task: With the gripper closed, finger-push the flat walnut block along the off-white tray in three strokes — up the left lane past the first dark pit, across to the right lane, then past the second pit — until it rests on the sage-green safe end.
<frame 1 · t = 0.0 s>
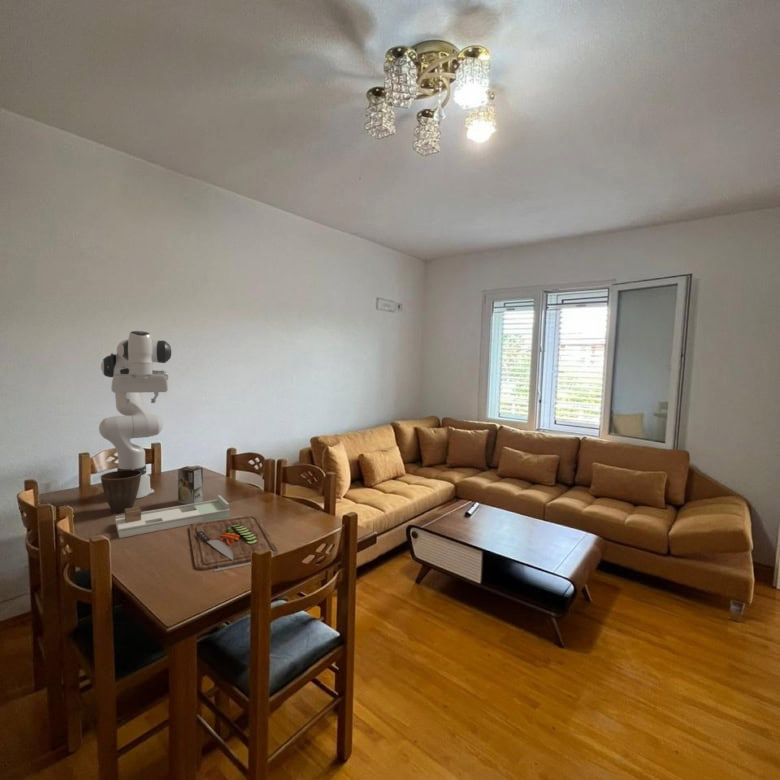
hand: (140, 403, 175), 48 cm above the table, fingers open, 8 cm apart
coffee box: (190, 502, 196), on the table
block: (133, 519, 167), point 2 cm above the table, touching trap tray
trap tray: (174, 520, 174), on the table
plant pot: (121, 510, 183), on the table
chopping board: (231, 541, 157), on the table
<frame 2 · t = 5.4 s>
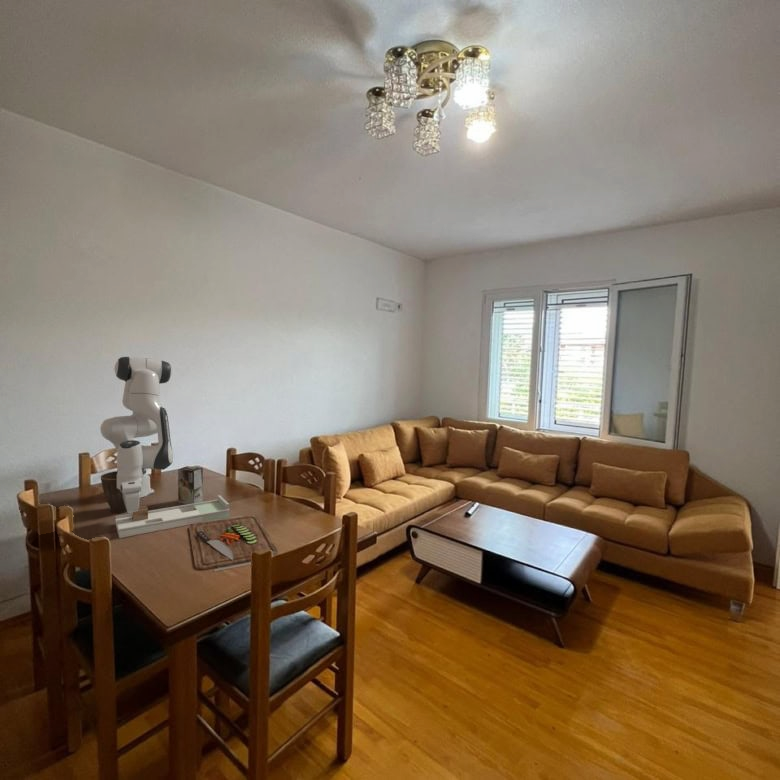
hand: (130, 516, 166), 4 cm above the table, fingers closed
block: (140, 518, 168), point 2 cm above the table
everything else where it was.
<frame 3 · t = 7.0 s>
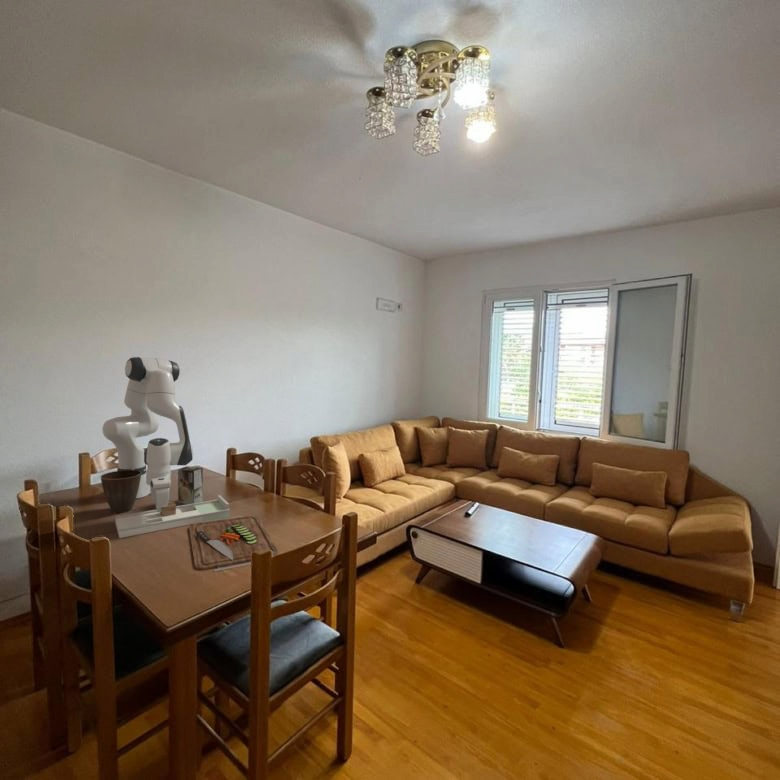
hand: (158, 511, 172), 4 cm above the table, fingers closed
block: (167, 513, 174), point 2 cm above the table, touching gripper
everything else where it was.
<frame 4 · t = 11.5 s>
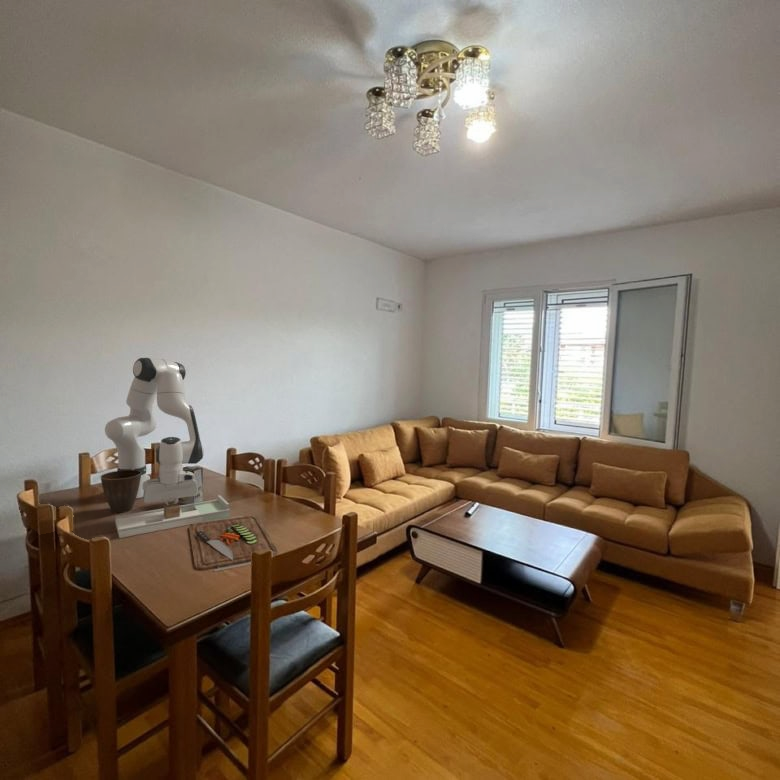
hand: (171, 509, 175), 4 cm above the table, fingers closed
block: (171, 515, 172), point 2 cm above the table, touching gripper, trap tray
everything else where it was.
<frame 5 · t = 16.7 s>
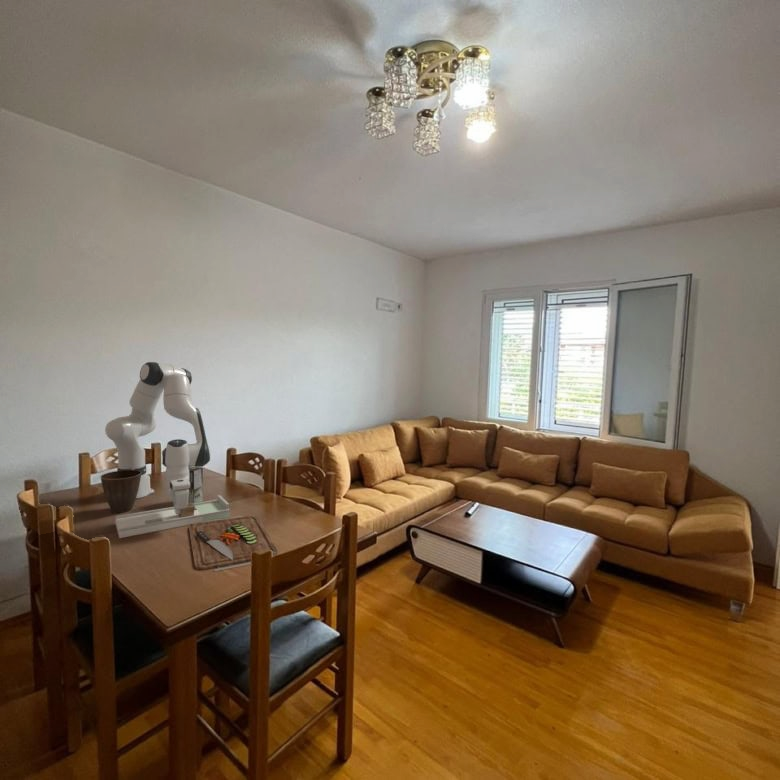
hand: (177, 513, 171), 4 cm above the table, fingers closed
block: (186, 515, 174), point 2 cm above the table, touching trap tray
everything else where it was.
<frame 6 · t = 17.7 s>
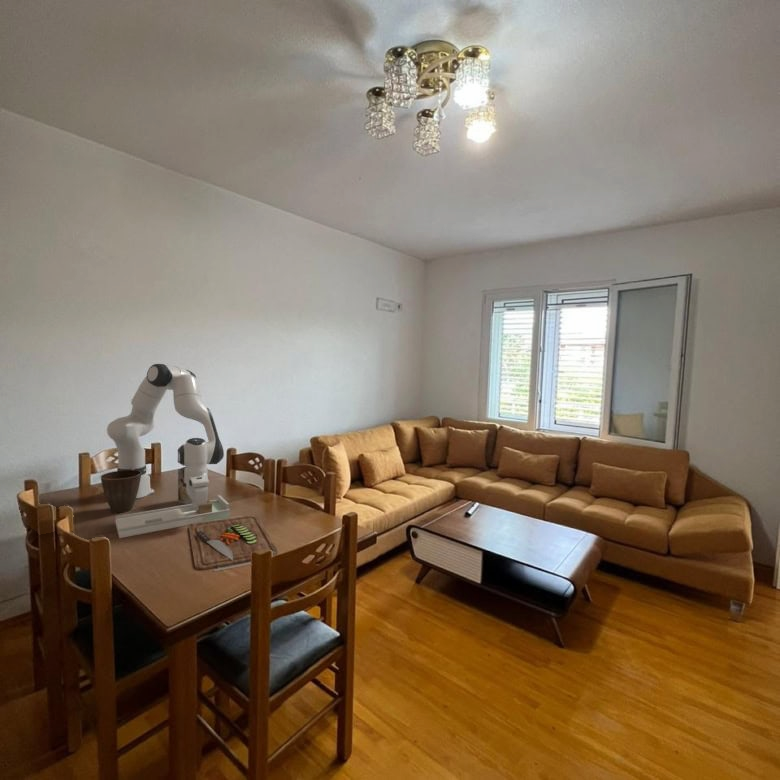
hand: (195, 509, 176), 4 cm above the table, fingers closed, pressing on block
block: (204, 511, 178), point 2 cm above the table, touching gripper
everything else where it was.
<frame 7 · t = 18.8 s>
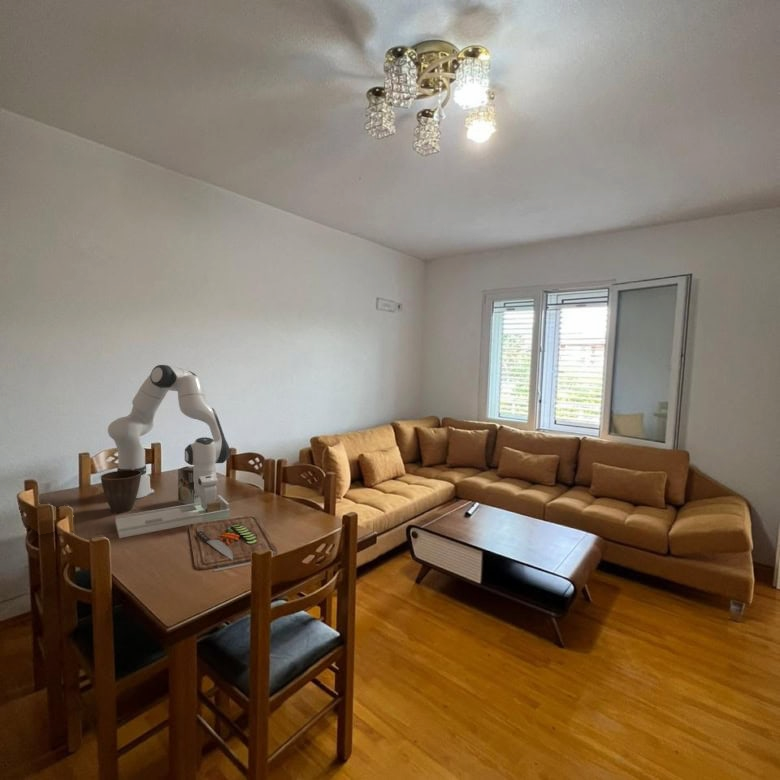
hand: (204, 508, 178), 4 cm above the table, fingers closed, pressing on block
block: (212, 510, 180), point 2 cm above the table, touching gripper, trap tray
everything else where it was.
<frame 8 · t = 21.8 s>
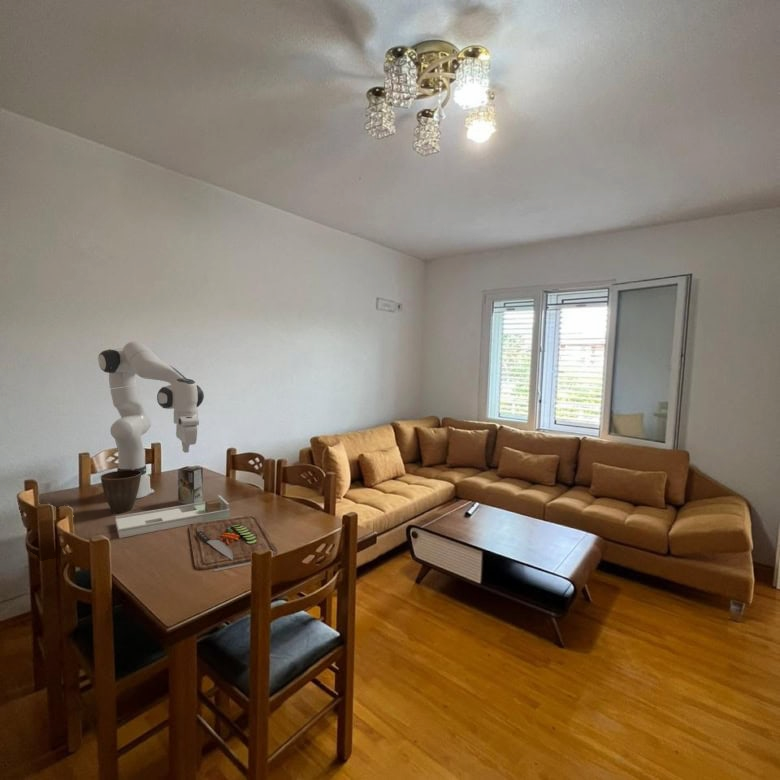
hand: (185, 451, 172), 29 cm above the table, fingers closed
block: (212, 510, 180), point 2 cm above the table, touching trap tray
everything else where it was.
at the end: block inside the target area (2.9 cm from its centre), point 2.4 cm above the table; block tilted 0° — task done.
